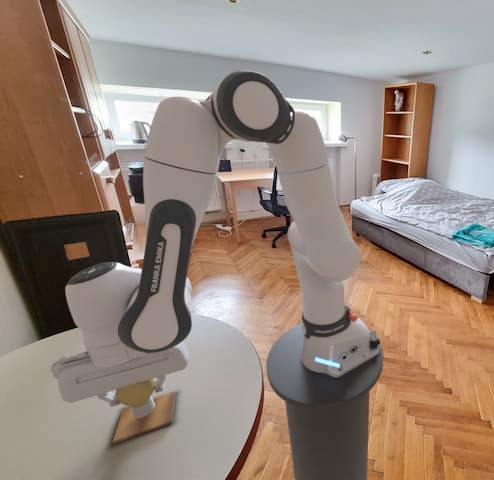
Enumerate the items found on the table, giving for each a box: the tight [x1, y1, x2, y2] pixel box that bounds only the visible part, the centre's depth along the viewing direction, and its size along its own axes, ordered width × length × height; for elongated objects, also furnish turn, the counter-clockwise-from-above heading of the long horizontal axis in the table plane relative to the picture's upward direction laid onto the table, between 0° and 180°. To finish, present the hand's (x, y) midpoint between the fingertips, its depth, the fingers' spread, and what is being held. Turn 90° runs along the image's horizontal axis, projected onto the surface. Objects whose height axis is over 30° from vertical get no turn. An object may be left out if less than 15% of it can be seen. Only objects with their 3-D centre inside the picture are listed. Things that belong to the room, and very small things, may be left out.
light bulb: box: [115, 378, 156, 418], centre depth 60 cm, size 6×6×10 cm
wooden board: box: [112, 391, 176, 444], centre depth 62 cm, size 10×8×1 cm
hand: (139, 396), depth 60 cm, fingers closed on light bulb, 6 cm apart
